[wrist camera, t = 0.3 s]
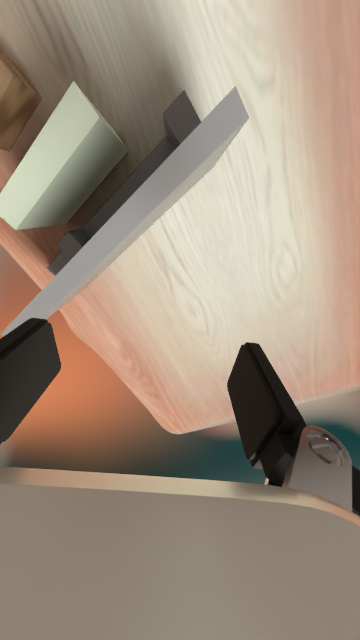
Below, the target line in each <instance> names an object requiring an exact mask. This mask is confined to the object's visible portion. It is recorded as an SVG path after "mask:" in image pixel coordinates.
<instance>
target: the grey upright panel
mask: <svg viewBox="0 0 360 640" xmlns="http://www.w3.org/2000/svg"><path fill="white" fill-rule="evenodd" d="M163 118H164V124H165V129H166V135H167V136H166V137H165V138H164V139H163V140H162V142H161V143H160V144H159V145H158V146H157V147H156V148H155V149H154V150H153V152H152V153H151V154H150V155H149V156H148V157H147V158H146V159H145V160H144V161H143V163H142V164H141V165H140V166H139V167H138V168H137V169H136V170H135V171H134V173H133V174H132V175H131V176H130V177H129V178H128V179H127V180H126V181H125V182H124V184H123V185H122V186H121V187H120V188H119V189H118V190H117V191H116V192H115V193H114V195H113V196H112V197H111V198H110V199H109V200H108V201H107V202H106V203H105V205H104V206H103V207H102V208H101V209H100V210H99V211H98V212H97V213H96V214H95V216H94V217H93V218H92V219H91V220H90V221H89V222H88V223H87V224H86V226H85V227H84V228H83V229H81V230H76V231H70V232H67V233H66V235H65V236H64V237H63V238H62V239H61V240H60V241H59V243H58V244H57V246H58V247H59V248H60V249H61V250H62V252H61V253H60V254H59V255H58V256H57V258H56V259H55V260H54V261H53V262H52V263H51V264H50V265H49V266H48V267H47V269H48V270H50V271H51V272H52V273H53V274H54V275H55V277H54V278H53V279H52V280H51V281H50V282H49V283H48V284H47V285H46V286H45V287H44V289H43V290H42V291H41V292H40V293H39V294H38V295H37V296H36V297H35V298H34V299H33V300H32V301H31V302H30V303H29V305H27V307H25V309H24V310H23V311H22V312H21V313H20V314H19V315H18V316H17V317H16V318H15V319H14V320H13V321H12V322H11V323H10V324H9V326H8V327H7V328H6V329H5V330H4V331H3V332H2V333H1V335H3V336H5V335H7V334H8V333H9V332H11V331H12V330H14V329H15V328H17V327H18V326H19V325H21V324H22V323H24V322H25V321H27V320H28V319H30V318H40V319H47V318H48V317H50V316H51V315H52V314H53V313H55V312H56V311H57V310H58V309H60V308H61V307H62V306H63V305H65V304H66V303H67V302H68V301H70V300H71V299H72V298H73V297H75V296H76V295H77V294H78V293H80V292H81V291H82V290H83V289H84V288H85V287H86V286H87V285H88V284H89V283H90V282H91V281H92V280H93V279H95V278H96V277H97V276H98V275H99V274H100V273H101V272H102V271H103V270H104V269H105V268H106V267H107V266H108V265H109V264H110V263H112V262H113V261H114V260H115V259H116V258H117V257H118V256H119V255H120V254H121V253H122V252H123V251H124V250H125V249H126V248H127V247H129V246H130V245H131V244H132V243H133V242H134V241H135V240H136V239H137V238H138V237H139V236H140V235H141V234H142V233H143V232H145V231H146V230H147V229H148V228H149V227H150V226H151V225H152V224H153V223H154V222H155V221H156V220H157V219H158V218H159V217H160V216H162V215H163V214H164V213H165V212H166V211H167V210H168V209H169V208H170V207H171V206H172V205H173V204H174V203H175V202H176V201H178V200H179V199H180V198H181V197H182V196H183V195H184V194H185V193H186V192H187V191H188V190H189V189H190V188H191V187H192V186H193V185H195V184H196V183H197V182H198V181H199V180H200V179H201V178H202V177H203V176H204V175H205V174H206V173H207V172H208V171H209V170H211V169H212V168H213V166H214V165H215V164H216V162H217V161H218V160H219V158H220V157H221V155H222V154H223V153H224V151H225V150H226V149H227V147H228V146H229V145H230V143H231V142H232V140H233V139H234V138H235V136H236V135H237V134H238V132H239V131H240V129H241V128H242V127H243V125H244V124H245V123H246V121H247V120H248V118H249V116H248V114H247V112H246V109H245V107H244V105H243V102H242V100H241V98H240V95H239V93H238V91H237V88H236V86H235V87H234V88H233V89H232V90H231V91H230V92H229V94H228V95H227V96H226V97H225V98H224V99H223V100H222V101H221V102H220V103H219V104H218V105H217V106H216V107H215V108H214V109H213V110H212V111H211V113H210V114H209V115H208V116H207V117H206V118H205V119H204V120H203V121H202V122H201V121H200V119H199V117H198V115H197V114H196V112H195V110H194V108H193V106H192V104H191V102H190V100H189V98H188V96H187V94H186V93H185V91H184V90H183V92H182V93H181V94H180V95H179V96H178V97H177V99H176V100H175V101H174V102H173V103H172V104H171V106H170V107H169V108H168V109H167V110H166V111H165V113H164V114H163Z"/></svg>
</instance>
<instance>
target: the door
mask: <svg viewBox="0 0 360 640" xmlns="http://www.w3.org/2000/svg"><path fill="white" fill-rule="evenodd" d="M127 152H128V149H127V148H126V146H125V145H124V144H123V142H122V141H121V139H120V138H119V136H118V135H117V134H116V132H115V131H114V129H113V128H112V127H111V126H110V124H109V123H108V122H107V121H106V120H105V118H104V117H103V116H102V115H101V113H100V112H99V111H98V110H97V109H96V107H95V106H94V105H93V104H92V103H91V101H90V100H89V99H88V98H87V96H86V95H85V94H84V93H83V92H82V90H81V89H80V88H79V87H78V85H77V84H76V83H75V82H74V81H73V82H72V84H71V85H70V87H69V89H68V90H67V92H66V93H65V95H64V96H63V98H62V99H61V101H60V102H59V104H58V105H57V107H56V109H55V110H54V112H53V113H52V115H51V116H50V118H49V119H48V121H47V122H46V124H45V125H44V127H43V129H42V130H41V132H40V133H39V135H38V136H37V138H36V139H35V141H34V142H33V144H32V146H31V147H30V149H29V150H28V152H27V153H26V155H25V156H24V158H23V159H22V161H21V162H20V164H19V166H18V167H17V169H16V170H15V172H14V173H13V175H12V176H11V178H10V179H9V181H8V182H7V184H6V186H5V187H4V189H3V190H2V192H1V193H0V216H1V217H2V218H3V219H4V220H5V221H6V222H7V223H8V224H9V225H11V226H12V227H13V228H14V229H15V230H21V229H29V228H38V227H47V226H56V225H65V224H67V222H68V221H69V220H70V219H71V218H72V217H73V215H74V214H75V213H76V212H77V211H78V210H79V208H80V207H81V206H82V205H83V204H84V203H85V201H86V200H87V199H88V198H89V197H90V196H91V194H92V193H93V192H94V191H95V190H96V188H97V187H98V186H99V185H100V184H101V183H102V181H103V180H104V179H105V178H106V177H107V176H108V174H109V173H110V172H111V171H112V170H113V169H114V167H115V166H116V165H117V164H118V163H119V162H120V160H121V159H122V158H123V157H124V156H125V155H126V153H127Z"/></svg>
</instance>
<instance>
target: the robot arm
mask: <svg viewBox="0 0 360 640" xmlns="http://www.w3.org/2000/svg"><path fill="white" fill-rule="evenodd" d="M60 369H61V362H60V358H59V354H58V350H57V346H56V342H55V338H54V334H53V329H52V326H51V324H50V323H48V321H47V320H46V319H40V318H30V319H28V320H27V321H25V322H24V323H22V324H21V325H19V326H18V327H17V328H15V329H14V330H12V331H11V332H9V333H8V334H7V335H5V336H4V337H2V338H1V339H0V444H1V443H2V442H3V441H6V440H7V439H8V438H9V437H10V436H11V434H12V433H13V432H14V431H15V429H16V428H17V427H18V425H19V424H20V423H21V421H22V420H23V419H24V417H25V416H26V415H27V413H28V412H29V411H30V409H31V408H32V407H33V406H34V404H35V403H36V402H37V400H38V399H39V398H40V396H41V395H42V394H43V392H44V391H45V389H46V388H47V387H48V386H49V384H50V383H51V382H52V380H53V379H54V378H55V377H56V375H57V374H58V373H59V371H60ZM227 387H228V392H229V395H230V399H231V403H232V407H233V410H234V414H235V418H236V422H237V425H238V429H239V433H240V437H241V440H242V444H243V447H244V451H245V455H246V457H247V459H249V460H250V461H251V465H252V468H255V469H263V470H264V472H265V476H266V477H267V478H266V481H265V484H264V485H261V484H250V483H239V482H228V481H215V480H200V479H186V478H170V477H157V476H142V475H127V474H112V473H96V472H80V471H65V470H49V469H32V468H15V467H0V640H360V471H359V470H358V469H356V468H355V467H353V466H352V463H351V458H350V456H349V454H348V452H347V450H346V449H345V447H344V446H343V445H342V443H341V442H339V440H338V439H337V438H335V437H334V436H333V435H332V434H330V433H329V432H327V431H325V430H324V429H322V428H319V427H316V426H306V424H305V422H304V420H303V418H302V416H301V414H300V412H299V411H298V409H297V407H296V406H295V404H294V402H293V401H292V399H291V397H290V396H289V394H288V392H287V391H286V389H285V387H284V385H283V384H282V382H281V380H280V379H279V377H278V375H277V374H276V372H275V370H274V369H273V367H272V365H271V364H270V362H269V360H268V358H267V357H266V355H265V353H264V352H263V350H262V348H261V347H260V345H259V344H257V343H248V342H247V343H245V345H242V346H241V348H240V350H239V353H238V356H237V358H236V361H235V364H234V366H233V369H232V372H231V374H230V377H229V380H228V383H227Z"/></svg>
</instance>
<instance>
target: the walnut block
mask: <svg viewBox="0 0 360 640" xmlns="http://www.w3.org/2000/svg"><path fill="white" fill-rule="evenodd" d="M40 100H41V97H40V96H39V95H38V93H37V92H36V91H35V90H34V88H33V87H32V86H31V85H30V83H29V82H28V81H27V80H26V78H25V77H24V76H23V75H22V73H21V72H20V71H19V70H18V68H17V67H16V66H15V65H14V63H13V62H12V61H10V60H9V59H8V58H7V57H6V56H5V55H4V54H3V53H1V52H0V148H1V149H3V150H6V151H10V149H11V147H12V146H13V144H14V142H15V141H16V139H17V137H18V136H19V134H20V133H21V131H22V129H23V128H24V126H25V124H26V123H27V121H28V119H29V118H30V116H31V115H32V113H33V111H34V110H35V108H36V106H37V105H38V103H39V101H40Z"/></svg>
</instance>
